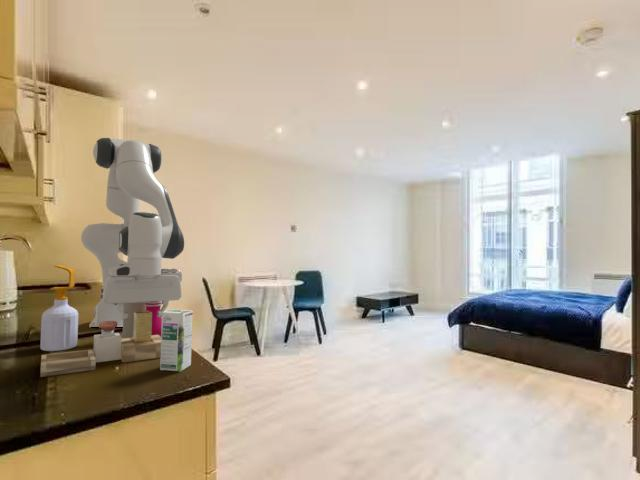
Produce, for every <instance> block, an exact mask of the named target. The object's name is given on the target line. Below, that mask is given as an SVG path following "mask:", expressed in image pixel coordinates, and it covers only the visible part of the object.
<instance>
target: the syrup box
mask: <svg viewBox="0 0 640 480" xmlns="http://www.w3.org/2000/svg"><path fill="white" fill-rule="evenodd" d="M193 310H194V309H193ZM193 310H191V309H189V310H188V309H167V310H165V311H164V312H162V317H161V318H162V330H161V357H160V358H159V370H160V371H169V372H170V371H171V372H182V371H184V370H185V369H187V368H189V367H190V366H192V348H193V346H192V344H193V343H192V341H193V340H192V339H193V317H194V316H193V315H194V312H193Z"/></svg>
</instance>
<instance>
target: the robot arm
mask: <svg viewBox="0 0 640 480" xmlns="http://www.w3.org/2000/svg"><path fill="white" fill-rule="evenodd" d="M92 154H93V155H92V156H93V158H94V161H95V163H96V165H98V167H100V168H104V169H106V170H107V169H109V172H108V176H107V181H106V182H107V184H106V185H107V187H106V199H105V200H106V203H105V206H106V208H107V210H108V211H109V212H111V213H112V214H114V215H116V216H118V217H120V218H121V219H122V220H123V223H105V222H104V223H102V222H100V223H92V224H87V226H85V227H84V229H83V230H82V232H81V236H80V237H81V238H80V240H81V243H82V245H83V247H84V248H85V249H86V250H87V251H89V252H90V253H92V255H94V256H95V258H96V259H97V260H98V261H99V264H100V266H101V272H102V274H101V276H102V288H101V289H100V301H99V302H97V304H96V305H95V306H94V308H93V313H92V314H93V319H92V320H91V322H90V323H89V326H88V328H91V327H99V323H100V322H105V321H116V322H117V327H123V320H127V319H128V317H127V316H128V313H127V312H126V313H124V311H123V307H124V303H136V302H154V301H162V305H161V307H160V310H158V311H157V313H158V314H157V316H158V317H161V318H162V312H164V311H166V309H167V308H168V306H169V301H179V300H180V299H181V298H182V285H181V282H182V280H183V274H182V271H180V270H178V269H177V268H162V259H170V260H171V259H172V260H173V259H176V258H177V257H178V256H179V255H181V254H182V252H184V249H185V239H184V234H183V232H182V230H181V228H180V225H179V223H178V219H177V217H176V213H175V210H174V208H173V204H172V202H171V198H170V196H169V192H168V191H167V189H166V186H165V185H163V184H162V183H161V182H159V181H158V179H157V178H156V176H155V174H156V173H157V172H158V171H159V170H160V168H161V166H162V164H163V155H162V151H161V149H160V147H159V146H157V145H154V144H152V143H149V144H148V143H145V142H141V141H139V140H134V139H130V140H129V139H119V138H117V139H116V138H110V137H101V138H99V139H97V140H96V142H95V144H94V146H93V149H92ZM154 173H155V174H154ZM140 201H142V202H145V203H146V204H148V205H151V206H152V207H154V208H155V209H156V211H157V213H158V214H157V213H153V212H146V211H145V212H143V211H140ZM120 253H122V254H123V255H125V257H127V261H125V260H123V259H121V258H119V254H120Z"/></svg>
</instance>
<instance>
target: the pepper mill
mask: <svg viewBox="0 0 640 480" xmlns="http://www.w3.org/2000/svg"><path fill="white" fill-rule="evenodd" d="M145 306H146V311H150V312H152V331H151V335H159V336H160V337H161V330H162V317H158V316H157V314H158V313H157V311H158V310H161V308H162V306H163V304H162V301H154V302H145Z"/></svg>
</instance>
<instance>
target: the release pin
mask: <svg viewBox="0 0 640 480" xmlns="http://www.w3.org/2000/svg"><path fill="white" fill-rule="evenodd" d="M115 327H117V322H116V321H105V322H100V323H99V328H98V329H101V334H102V335H101V338H107V337H114V333H115V329H116V328H115Z"/></svg>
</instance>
